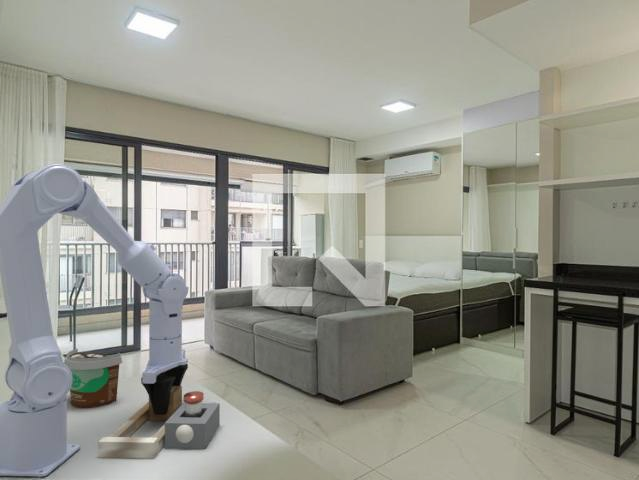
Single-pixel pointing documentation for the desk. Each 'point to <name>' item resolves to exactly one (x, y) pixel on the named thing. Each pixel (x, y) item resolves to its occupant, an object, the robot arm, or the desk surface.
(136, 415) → the channel
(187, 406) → the plunger
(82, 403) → the food container
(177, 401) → the block
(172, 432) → the grey housing block
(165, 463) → the desk surface
